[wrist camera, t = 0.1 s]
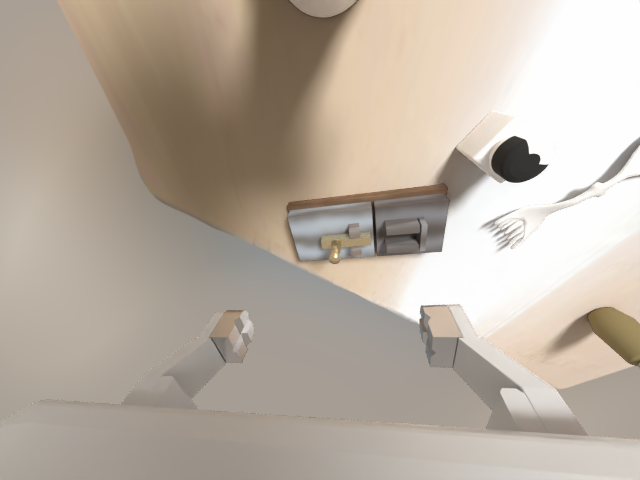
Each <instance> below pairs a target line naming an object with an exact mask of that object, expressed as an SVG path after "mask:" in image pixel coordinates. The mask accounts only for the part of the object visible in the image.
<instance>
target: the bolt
mask: <svg viewBox="0 0 640 480" xmlns="http://www.w3.org/2000/svg"><path fill="white" fill-rule="evenodd" d="M321 244H322V249H329V248H331V249H330V257H329V261H330V262H331V263H332V264H337V263H339V262H340V250H341V248H342V247H355V246H368V245H371V238H370V232H360V238H353V239H350V236H349V233H348V234H337V235H325V236H322V238H321Z"/></svg>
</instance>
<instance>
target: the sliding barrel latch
mask: <svg viewBox="0 0 640 480" xmlns="http://www.w3.org/2000/svg"><path fill="white" fill-rule="evenodd" d="M447 189H448V188H447V187H446V186H445V184H439V185H431V186H423V187H414V188H406V189H397V190H389V191H381V192H372V193H364V194H355V195H347V196H339V197H330V198H322V199H313V200H305V201H297V202H289V203H288V205H287V209H288V212H289V214H288V217H287V218H288V222H289V225H290V229H291V232H292V235H293V239H294V242H295V245H296V249H297V252H298V255H299V259H300V261H310V260H325V259H329V257H330V249H331V248H329V249H322V244H321V238H322V236H325V235H337V234H348V233H349V236H350V239H353V238H360V232H370V238H371V245H368V246H355V247H342V248H341V250H340V258H355V257H370V256H375V254H374V251H377V256H384V255H399V254H414V253H429V252H442V246H443V239H444V233H445V226H446V220H447V213H448V206H449V199H448V198H447Z"/></svg>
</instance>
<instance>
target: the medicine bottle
mask: <svg viewBox="0 0 640 480" xmlns="http://www.w3.org/2000/svg"><path fill="white" fill-rule="evenodd" d="M456 149H457V150H459V151H460V152H461V153H462V154H463V155H465V156H466V157H467V158H468V159H469V160H471V161H472V162H473V163H474V164H475V165H477V166H478V167H479V168H480V169H481V170H483V171H484V172H485V173H487V174H488V175H489V176H491V177H492V178H494V179H495V180H496V181H498V182H499V183H502V182H504V181H505V180H506V181H508V182H513V183H519V182H524V181H527V180H530V179H532V178H534V177H535V176H537V175H539V174H540V173H541V172H542V171H543V170H544V169H545V168H546V167H547V166H548V164H549V163H550V161H551V159H552V156H553V146H552V144H551V143H550V142H549V141H548V140H547V139H544V138H541V137H538V136H537V135H536V134H535V133H534V132H533V131H532V130H531V129H530V128H529V127H528V126H527V125H526V124H524V123H523V122H522V121H521V120H520V119H519V118H518V117H517V116H513V115H509V114H505V113H501V112H498V111H494V110H493V111H491V112H490V113H489V114H488V115H487V116H486V117H485V118H484V119H483V120H482V121H481V122H480V123H479V124H478V125H477V126H476V127H475V128H474V129H473V130H472V131H471V132H470V133H469V134H468V135H467V136H466V137H465V138H464V139H463V140H462V141H461V142H460V143H459V144H458V145H457V147H456Z"/></svg>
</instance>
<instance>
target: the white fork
mask: <svg viewBox="0 0 640 480" xmlns="http://www.w3.org/2000/svg"><path fill="white" fill-rule="evenodd" d="M639 175H640V145H639V146H638V148H637V149H636V150H635V151H634V153H633V154H632V156H631V157H630V158H629V160H628V161H627V163H626V164H625V166H624V167H623V168H622V170H621V171H620V172H619V173H618V174H617V175H616V176H614V177H613V178H612V179H610V180H609V181H607V182H605V183H600V182H597V183H595V184H593V185H592V186H591V188H590V189H589V190H587V191H586V192H584V193H582V194H581V195H579V196H577V197H575V198H572V199H570V200H567V201H564V202H560V203H555V204H548V205H533V206H526V207H523V208H520V209H518V210H516V211H514V212H512V213H510V214H508V215H506V216H504V217H502V218H500V219H498V220H496V221H495V222H494V225H497V224H499V223H500V224H499V225H498V227H501V226H503V225H504V226H503V227H502V228H501V229H500V230H503V229H505V228H506V227H508V226H509V227H508V229H507V230H506V231H505V232H504V234H507V233H509V232H511V231H513V230H514V229H515V230H514V231H513V232H512V233H511V234H510V235H509V236H508V238H507V240H508V239H511V238H512V237H514V236H515V235H516V236H515V237H514V238H513V239H512V240H511V241H510V242H509V244H511V243H513V242H515V241H516V242H515V243H514V244H513V245H512V246H511V249H515V248H517V247H518V246H519V245H520V244H521V243H522V242H523V241H524V240H525V239H526V238H527V237H528V236H529V235H530V234H532V233H533V232H534V231H535V230H536V229H537V228H538V227H539V226H540V224H541V223H542V222H543V220H544V219H545V218H546V217H547V216H548V215H549V214H551V213H553V212H555V211H558V210H561V209H564V208H567V207H570V206H573V205H575V204H578V203H580V202H582V201H584V200H586V199H589V198H591V197H599V196H602V195H603V194H605V192H606V190H607V189H608V188H610V187H611V186H613V185H615V184H616V183H618V182H620V181H622V180H624V179H626V178H628V177H633V176H639Z"/></svg>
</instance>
